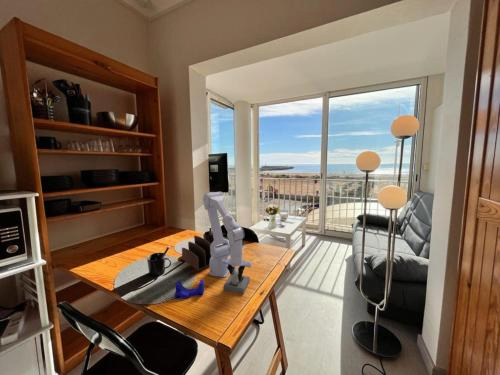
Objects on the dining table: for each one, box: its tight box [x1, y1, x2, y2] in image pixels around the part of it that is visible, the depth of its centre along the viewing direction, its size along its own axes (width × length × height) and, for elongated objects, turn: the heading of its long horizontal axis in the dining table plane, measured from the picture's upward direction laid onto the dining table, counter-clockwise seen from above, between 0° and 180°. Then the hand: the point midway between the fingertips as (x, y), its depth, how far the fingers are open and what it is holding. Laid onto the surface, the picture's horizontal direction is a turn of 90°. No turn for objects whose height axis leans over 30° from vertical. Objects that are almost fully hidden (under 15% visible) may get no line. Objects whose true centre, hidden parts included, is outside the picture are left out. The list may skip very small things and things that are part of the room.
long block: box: [230, 267, 242, 287], centre depth 100 cm, size 3×6×7 cm, turn 165°
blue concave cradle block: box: [174, 279, 205, 300], centre depth 94 cm, size 12×4×6 cm, turn 93°
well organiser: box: [222, 274, 251, 294], centre depth 101 cm, size 10×10×2 cm
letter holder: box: [181, 234, 212, 271], centre depth 124 cm, size 10×20×14 cm, turn 44°
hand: (236, 279), depth 100 cm, fingers closed on long block, 3 cm apart
